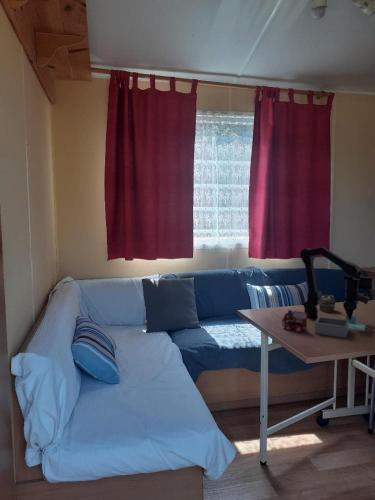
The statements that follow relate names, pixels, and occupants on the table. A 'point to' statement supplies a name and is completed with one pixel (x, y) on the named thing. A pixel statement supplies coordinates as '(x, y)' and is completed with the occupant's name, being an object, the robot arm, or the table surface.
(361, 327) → the lid
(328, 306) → the cupcake
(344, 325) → the tub
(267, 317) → the table surface
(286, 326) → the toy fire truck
